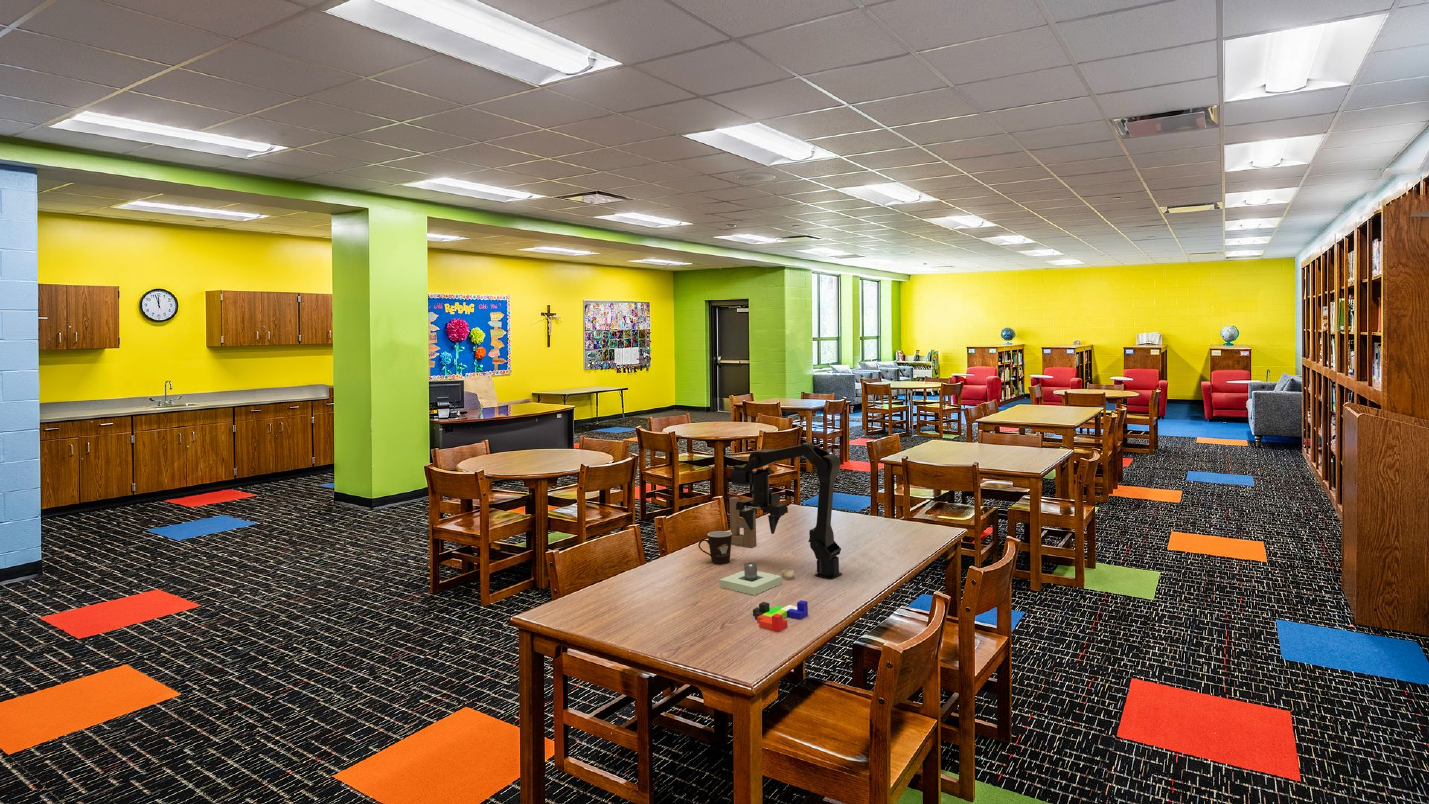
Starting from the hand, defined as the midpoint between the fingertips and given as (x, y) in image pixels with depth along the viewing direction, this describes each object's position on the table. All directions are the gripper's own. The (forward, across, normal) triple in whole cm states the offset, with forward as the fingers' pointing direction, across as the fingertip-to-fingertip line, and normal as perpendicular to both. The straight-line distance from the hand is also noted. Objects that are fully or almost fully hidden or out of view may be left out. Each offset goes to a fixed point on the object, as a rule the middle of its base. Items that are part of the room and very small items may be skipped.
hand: (762, 532), depth 267 cm
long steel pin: (+12, -10, +19) cm, 25 cm away
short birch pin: (+12, -15, +6) cm, 20 cm away
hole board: (+12, -10, +19) cm, 25 cm away
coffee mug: (+12, +17, +5) cm, 22 cm away
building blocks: (+13, -34, +38) cm, 53 cm away
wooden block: (+12, +24, -18) cm, 32 cm away
